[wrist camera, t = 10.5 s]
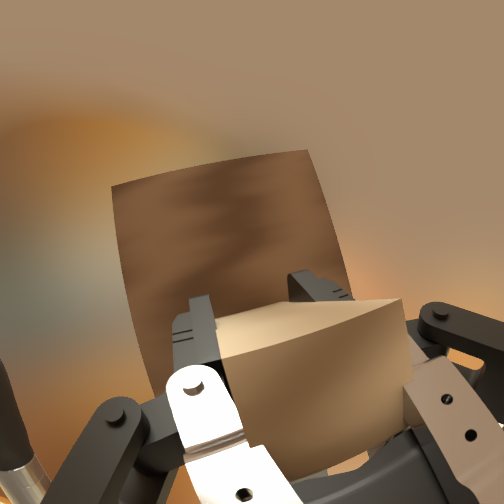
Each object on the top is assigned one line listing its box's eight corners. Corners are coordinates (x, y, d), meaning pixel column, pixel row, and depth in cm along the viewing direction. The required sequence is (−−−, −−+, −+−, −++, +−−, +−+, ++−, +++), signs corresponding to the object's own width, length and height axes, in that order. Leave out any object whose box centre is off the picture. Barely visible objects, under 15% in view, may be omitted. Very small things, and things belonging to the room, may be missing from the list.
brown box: (93, 519, 2) (29, 68, 4) (169, 374, 15) (134, 214, 16) (504, 362, 4) (385, 32, 6) (325, 332, 17) (285, 183, 18)
